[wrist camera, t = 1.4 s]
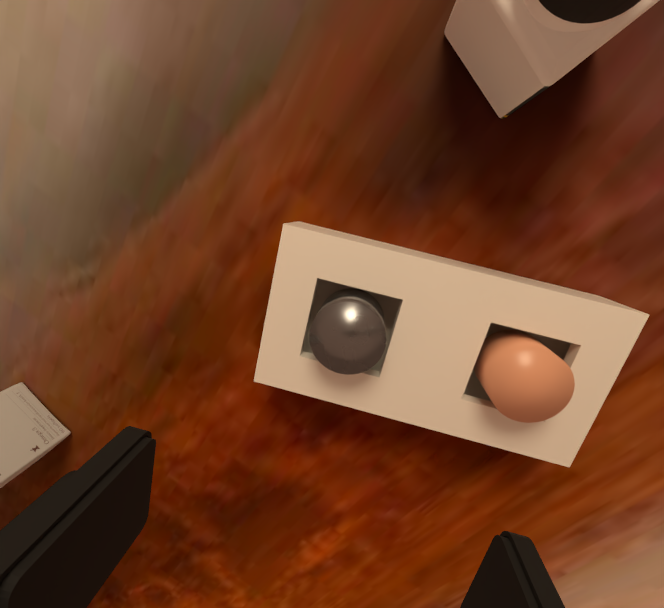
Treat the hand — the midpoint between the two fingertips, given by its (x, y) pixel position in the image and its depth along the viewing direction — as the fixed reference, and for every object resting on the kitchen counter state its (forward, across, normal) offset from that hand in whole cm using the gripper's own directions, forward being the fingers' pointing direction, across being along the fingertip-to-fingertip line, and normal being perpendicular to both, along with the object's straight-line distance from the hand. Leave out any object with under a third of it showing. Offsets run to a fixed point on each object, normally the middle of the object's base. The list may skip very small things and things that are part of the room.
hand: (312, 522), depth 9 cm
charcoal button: (+18, 0, 0) cm, 18 cm away
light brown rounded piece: (+18, -12, 0) cm, 21 cm away
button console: (+21, -6, 0) cm, 22 cm away
